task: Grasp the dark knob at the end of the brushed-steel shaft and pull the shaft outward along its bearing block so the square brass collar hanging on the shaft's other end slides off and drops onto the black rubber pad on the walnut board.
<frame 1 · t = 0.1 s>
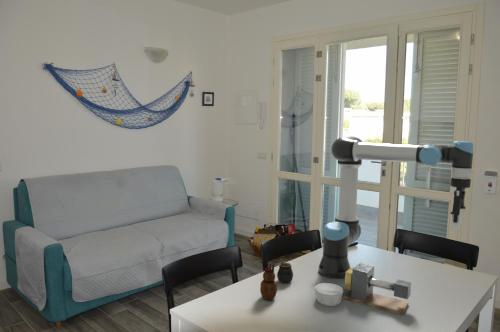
hand: (456, 226, 169), 28 cm above the table, fingers open, 13 cm apart
mate gourd: (284, 281, 176), on the table
bearing block: (362, 281, 160), on the walnut board, point 7 cm above the table
brass collar: (350, 278, 163), point 7 cm above the table, touching shaft
wooden figurine: (268, 298, 159), on the table
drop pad: (349, 291, 164), on the walnut board, point 1 cm above the table
ramekin: (328, 301, 158), on the table
walnut board: (361, 298, 161), on the table
shaft: (376, 282, 157), point 8 cm above the table, slide at 0.0 cm, touching brass collar
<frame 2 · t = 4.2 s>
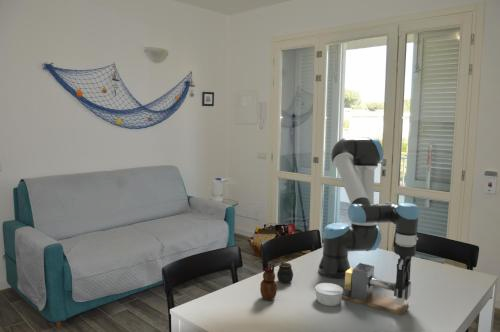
hand: (401, 302, 152), 3 cm above the table, fingers closed on shaft, 5 cm apart
shaft: (376, 282, 157), point 8 cm above the table, slide at 0.0 cm, touching brass collar, gripper
everything else where it was.
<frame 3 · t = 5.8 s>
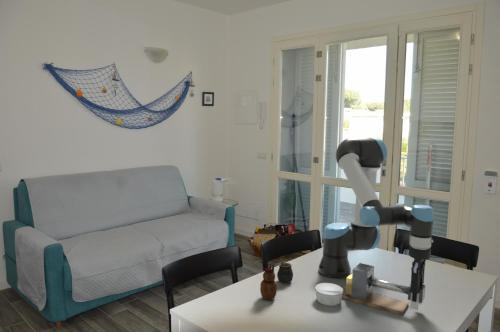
hand: (415, 305, 149), 3 cm above the table, fingers closed on shaft, 5 cm apart
brass collar: (352, 283, 163), point 5 cm above the table, touching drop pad
shaft: (389, 286, 154), point 8 cm above the table, slide at 5.1 cm, touching gripper
everything else where it was.
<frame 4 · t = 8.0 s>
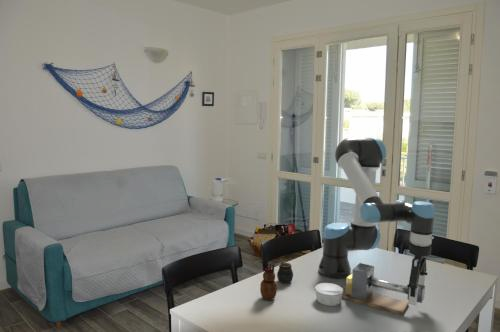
hand: (416, 297, 149), 6 cm above the table, fingers open, 13 cm apart
shaft: (389, 285, 154), point 8 cm above the table, slide at 5.0 cm
everything else where it was.
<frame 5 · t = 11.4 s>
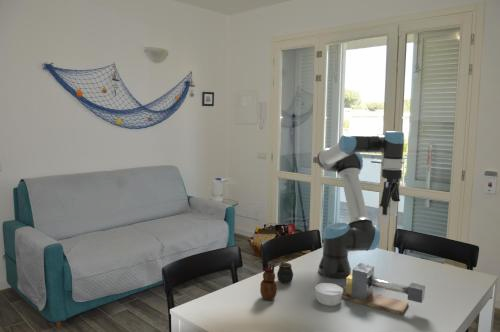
hand: (389, 219, 164), 32 cm above the table, fingers open, 13 cm apart
nothing on the table moved.
at the end: brass collar inside the target area (1.6 cm from its centre), point 5.0 cm above the table; shaft slide at 5.0 cm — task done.
